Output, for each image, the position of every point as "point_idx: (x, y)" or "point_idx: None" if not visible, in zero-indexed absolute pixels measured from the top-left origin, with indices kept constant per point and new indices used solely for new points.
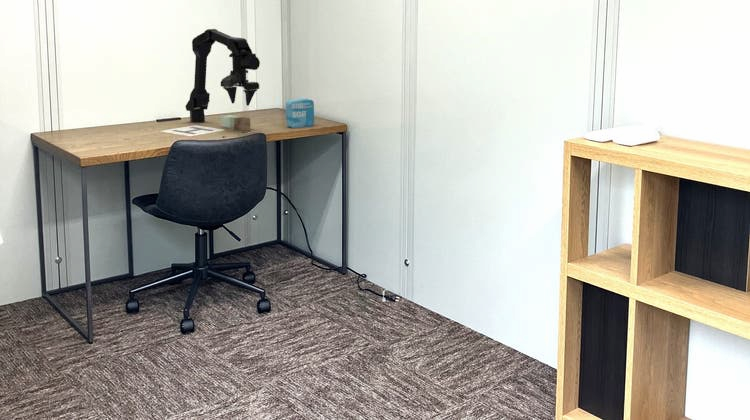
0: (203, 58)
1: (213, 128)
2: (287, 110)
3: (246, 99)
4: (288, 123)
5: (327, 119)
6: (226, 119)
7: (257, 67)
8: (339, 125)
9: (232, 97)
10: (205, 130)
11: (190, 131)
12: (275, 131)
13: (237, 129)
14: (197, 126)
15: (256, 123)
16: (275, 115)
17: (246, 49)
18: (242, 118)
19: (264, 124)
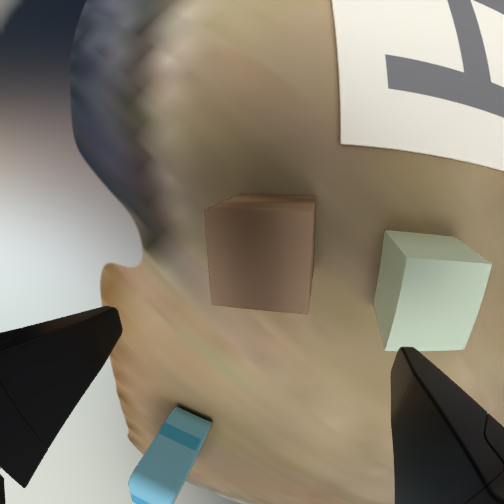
0: None
1: (450, 147)
2: (173, 463)
3: (47, 328)
4: (188, 421)
5: (230, 497)
6: (435, 254)
7: None
8: (140, 451)
9: (419, 421)
10: (427, 60)
11: (448, 2)
12: (155, 326)
13: (280, 197)
14: None
15: (376, 427)
16: (391, 497)
17: None
18: (235, 249)
19: (330, 428)
